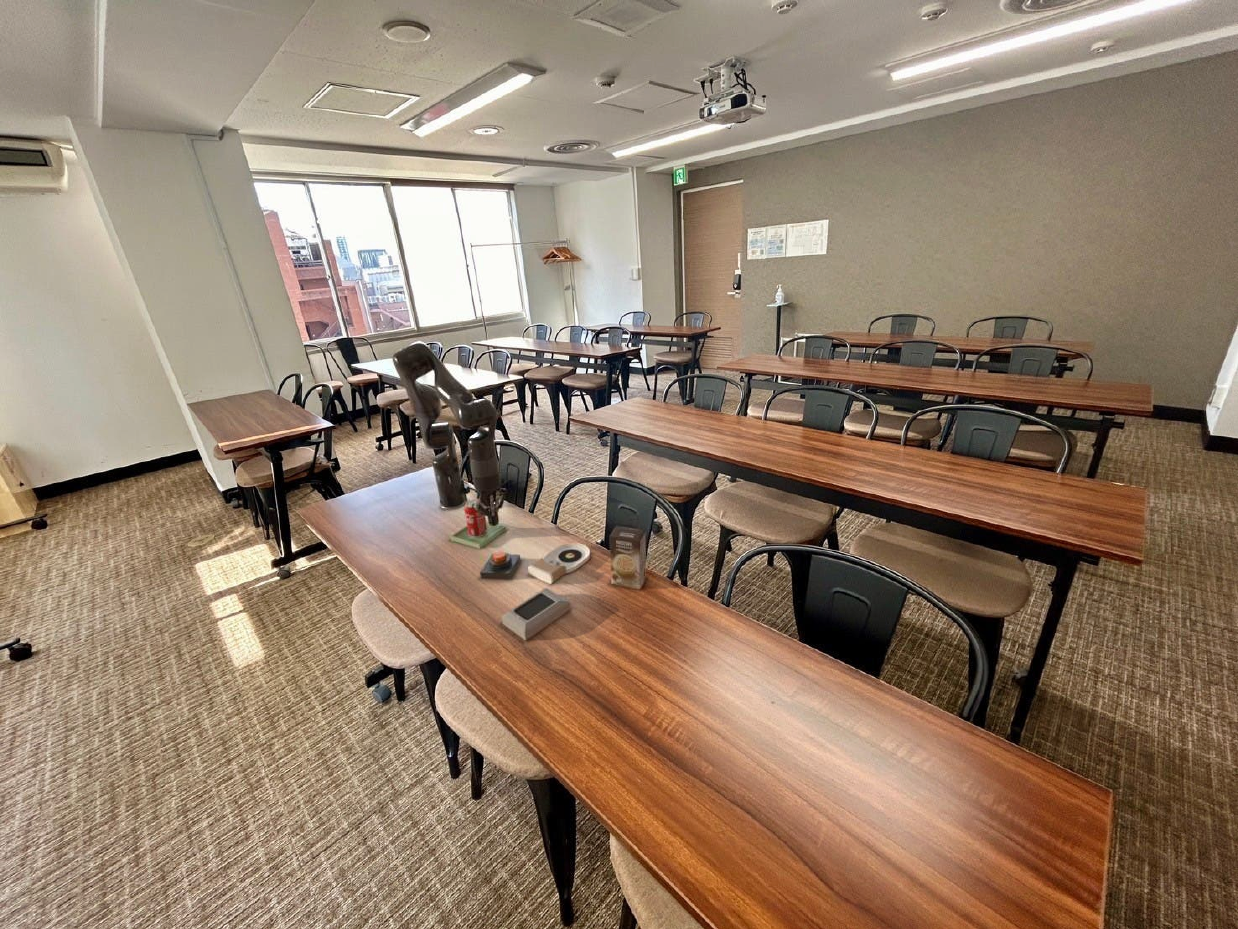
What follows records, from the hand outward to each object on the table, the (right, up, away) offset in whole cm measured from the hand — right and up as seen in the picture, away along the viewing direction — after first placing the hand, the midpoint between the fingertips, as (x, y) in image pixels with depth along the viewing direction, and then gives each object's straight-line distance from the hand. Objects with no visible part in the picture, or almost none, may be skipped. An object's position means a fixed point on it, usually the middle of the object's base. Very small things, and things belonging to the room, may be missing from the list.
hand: (494, 524), depth 141 cm
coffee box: (+40, -16, -2) cm, 43 cm away
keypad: (+15, -23, -15) cm, 31 cm away
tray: (-12, -7, +26) cm, 29 cm away
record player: (+19, -13, +8) cm, 25 cm away
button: (+1, -11, +5) cm, 12 cm away
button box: (+1, -14, +6) cm, 16 cm away
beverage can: (-12, -7, +26) cm, 29 cm away
